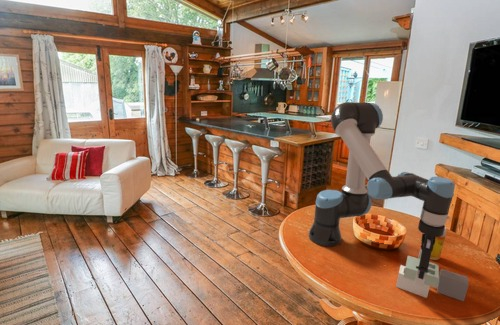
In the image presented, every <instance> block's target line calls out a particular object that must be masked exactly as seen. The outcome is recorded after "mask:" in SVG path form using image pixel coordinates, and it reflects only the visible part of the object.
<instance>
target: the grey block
mask: <svg viewBox="0 0 500 325" xmlns="http://www.w3.org/2000/svg"><path fill="white" fill-rule="evenodd" d="M419 263H420V259H418V257H414V256H410V255H407V258H406V262H405V272H404V277H405V278H408V279H411V280H414V281H415V278H416V273H417V268H416V266H419ZM429 266H431V267H432V268H430V267H429ZM429 266H428V272H431V273H432V274H430V273H428V272H427V273H426V278H425V282H424V284H426V285H429V286H430V287H432V288H435V289H437V283H438V279H439V275H440V270H439V268H440V265H439V264H437V263H434V262H431V261H429Z"/></svg>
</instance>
